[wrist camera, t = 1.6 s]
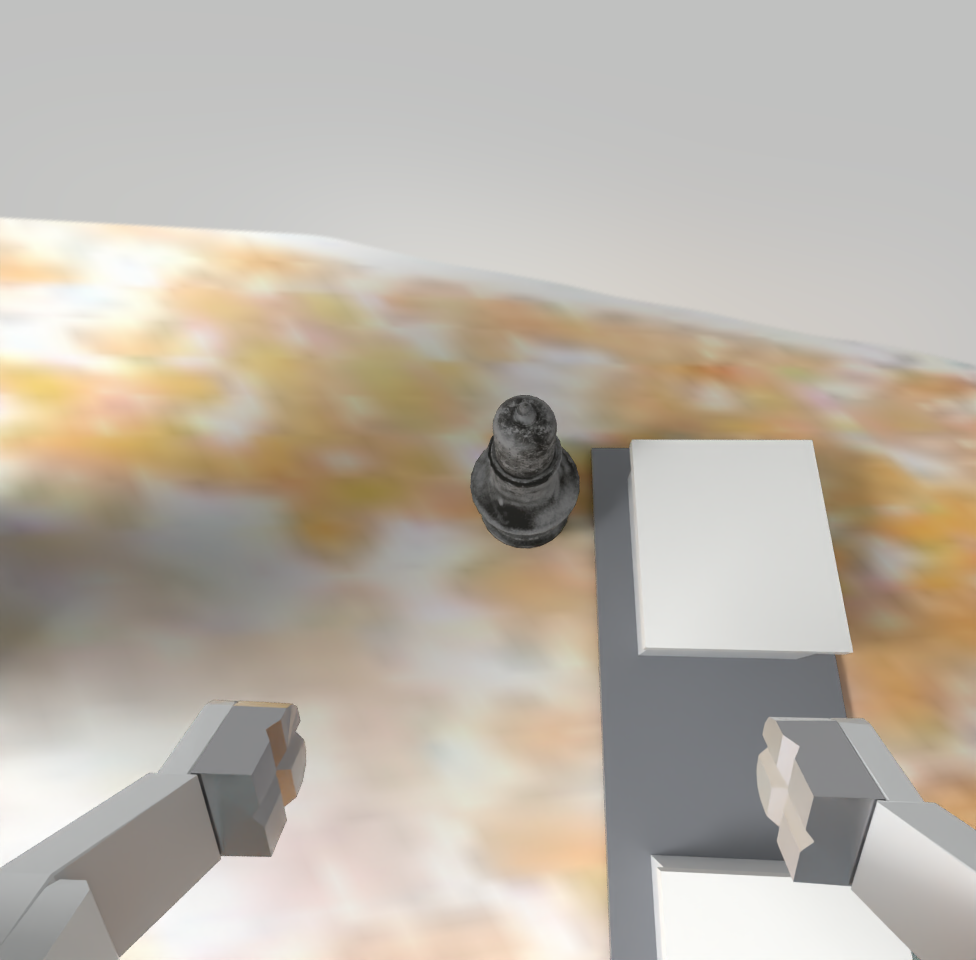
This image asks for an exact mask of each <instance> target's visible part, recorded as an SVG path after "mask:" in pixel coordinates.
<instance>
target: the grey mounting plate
mask: <svg viewBox="0 0 976 960" xmlns="http://www.w3.org/2000/svg"><path fill="white" fill-rule="evenodd" d="M591 464H592V490H593V517H594V543H595V569H596V596H597V622H598V649H599V675H600V701H601V728H602V754H603V781H604V807H605V833H606V860H607V886H608V913H609V939H610V960H913V959H912V954H911V950H910V949H909V948H908V947H907V946H906V945H905V944H904V943H903V942H902V941H901V940H900V939H899V938H898V937H897V936H896V935H895V934H894V933H893V932H892V931H891V930H890V929H889V928H888V927H887V926H886V925H885V924H884V923H883V922H882V921H881V920H880V919H879V918H878V917H877V916H876V915H875V914H874V913H873V911H872V910H871V909H870V908H869V907H868V906H867V905H866V904H865V903H864V902H863V901H862V900H861V899H860V898H859V897H858V896H857V895H856V894H855V893H854V892H853V891H852V890H851V887H852V886H840V885H827V884H814V883H801V882H793V880H792V878H791V875H790V873H789V870H788V868H787V865H786V863H785V861H784V858H783V856H782V853H781V851H780V848H779V846H778V843H777V837H778V833H779V828H780V827H779V826H778V825H777V824H775V823H774V822H773V821H772V820H771V819H770V818H768V817H767V816H766V813H765V810H764V808H763V805H762V803H761V799H760V795H759V791H758V786H757V772H756V770H757V763H758V756H759V754H760V753H761V752H763V751H764V750H765V749H766V748H767V747H768V746H767V744H766V742H765V740H764V737H763V735H762V734H763V729H764V725H765V722H766V721H767V719H768V717H796V718H829V719H830V718H846V712H845V707H844V701H843V696H842V690H841V685H840V679H839V674H838V668H837V663H836V657H835V654H849V653H853V649H852V643H851V638H850V633H849V628H848V623H847V618H846V612H845V607H844V602H843V597H842V592H841V587H840V581H839V576H838V571H837V566H836V561H835V555H834V550H833V545H832V540H831V535H830V530H829V524H828V519H827V514H826V509H825V504H824V499H823V493H822V488H821V483H820V478H819V473H818V467H817V462H816V457H815V452H814V447H813V442H812V440H632V441H631V443H630V446H629V448H592V450H591Z"/></svg>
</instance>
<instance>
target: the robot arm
mask: <svg viewBox="0 0 976 960" xmlns="http://www.w3.org/2000/svg"><path fill="white" fill-rule="evenodd" d="M299 723H300V716H299V712H298V708H297V706H296V705H294V704H290V703H271V702H253V701H223V700H212V701H211V702H209V703H207V704H206V705H205V706H204V707H203V709H202V710H201V711H200V713H199V714H198V716H197V717H196V719H195V720H194V722H193V723H192V724H191V726H190V727H189V729H188V730H187V732H186V733H185V734H184V736H183V737H182V739H181V740H180V742H179V743H178V744H177V746H176V747H175V749H174V750H173V752H172V753H171V754H170V756H169V757H168V759H167V760H166V762H165V763H164V764H163V766H162V767H161V769H160V770H159V772H158V773H148V774H147V775H145V776H143V777H142V778H140V779H139V780H137V781H136V782H134V783H133V784H131V785H129V786H128V787H126V788H125V789H123V790H122V791H120V792H118V793H117V794H115V795H114V796H112V797H111V798H109V799H107V800H106V801H104V802H103V803H101V804H100V805H98V806H96V807H95V808H93V809H92V810H90V811H89V812H87V813H85V814H84V815H82V816H81V817H79V818H78V819H76V820H75V821H73V822H71V823H70V824H68V825H67V826H65V827H64V828H62V829H60V830H59V831H57V832H56V833H54V834H53V835H51V836H49V837H48V838H46V839H45V840H43V841H42V842H40V843H38V844H37V845H35V846H34V847H32V848H31V849H29V850H27V851H26V852H24V853H23V854H21V855H20V856H18V857H17V858H15V859H13V860H12V861H10V862H9V863H7V864H6V865H4V866H2V867H1V868H0V960H120V958H119V957H120V956H122V955H123V954H124V953H125V952H126V951H127V950H128V949H129V948H130V947H131V946H132V945H133V944H134V943H135V942H136V941H137V940H138V939H139V938H140V937H141V936H142V935H143V934H144V933H145V932H146V931H147V930H148V929H149V928H150V927H151V926H152V925H154V924H155V923H156V922H157V921H158V920H159V919H160V918H161V917H162V916H163V915H164V914H165V913H166V912H167V911H168V910H169V909H170V908H171V907H172V906H173V905H174V904H175V903H176V902H177V901H178V900H179V899H180V898H181V897H182V896H183V895H184V894H186V893H187V892H188V891H189V890H190V889H191V888H192V887H193V886H194V885H195V884H196V883H197V882H198V881H199V880H200V879H201V878H202V877H203V876H204V875H205V874H206V873H207V872H208V871H209V870H210V869H211V868H212V867H213V866H214V865H215V864H216V863H218V862H219V861H220V860H221V856H258V857H271V856H272V854H273V851H274V849H275V847H276V844H277V842H278V840H279V837H280V835H281V833H282V830H283V828H284V825H285V823H286V821H287V819H286V814H285V809H284V807H285V806H286V805H287V804H288V803H290V802H291V801H292V800H293V799H294V798H296V797H297V794H298V792H299V789H300V787H301V784H302V782H303V777H304V772H305V766H306V748H305V742H304V739H303V738H302V737H301V736H300V735H299V734H298V733H296V732H295V731H296V729H297V727H298V725H299ZM762 735H763V737H764V740H765V742H766V744H767V746H768V747H767V748H766V749H765V750H764V751H763V752H761V753H760V754H759V756H758V763H757V770H756V772H757V786H758V791H759V795H760V799H761V803H762V805H763V808H764V810H765V813H766V816H767V817H768V818H770V819H771V820H772V821H773V822H774V823H775V824H777V825H778V826H779V827H780V828H779V833H778V837H777V843H778V846H779V848H780V851H781V853H782V856H783V858H784V861H785V863H786V865H787V868H788V870H789V873H790V875H791V878H792V880H793V882H801V883H814V884H827V885H840V886H852V887H851V890H852V891H853V892H854V893H855V894H856V895H857V896H858V897H859V898H860V899H861V900H862V901H863V902H864V903H865V904H866V905H867V906H868V907H869V908H870V909H871V910H872V911H873V913H874V914H875V915H876V916H877V917H878V918H879V919H880V920H881V921H882V922H883V923H884V924H885V925H886V926H887V927H888V928H889V929H890V930H891V931H892V932H893V933H894V934H895V935H896V936H897V937H898V938H899V939H900V940H901V941H902V942H903V943H904V944H905V945H906V946H907V947H908V948H909V949H910V950H911V951H912V952H913V953H914V954H915V955H916V956H917V957H918V958H919V959H920V960H976V830H975V829H973V828H972V827H970V826H969V825H967V824H966V823H964V822H963V821H961V820H960V819H958V818H957V817H955V816H954V815H952V814H951V813H949V812H948V811H946V810H945V809H943V808H942V807H940V806H939V805H937V804H936V803H929V802H924V800H923V799H922V798H921V796H920V795H919V793H918V792H917V790H916V789H915V787H914V786H913V785H912V783H911V782H910V780H909V779H908V777H907V776H906V775H905V773H904V772H903V770H902V769H901V767H900V766H899V764H898V763H897V762H896V760H895V759H894V757H893V756H892V754H891V753H890V752H889V750H888V749H887V747H886V746H885V744H884V743H883V741H882V740H881V739H880V737H879V736H878V734H877V733H876V731H875V730H874V729H873V727H872V726H871V724H870V723H869V722H867V721H866V720H865V719H863V718H830V719H829V718H796V717H768V719H767V721H766V722H765V725H764V729H763V734H762Z"/></svg>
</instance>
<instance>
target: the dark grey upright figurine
mask: <svg viewBox="0 0 976 960" xmlns="http://www.w3.org/2000/svg"><path fill="white" fill-rule="evenodd" d="M556 431H557V423H556V419H555V416H554V413H553V411H552V410H551V408H550V407H549V406H548V405H547V404H546V403H545V402H544V401H542V400H541V399H539V398H537V397H533V396H530V395H520V396H515V397H512V398H510V399H508V400H506V401H505V402H504V403H503V404H502V405H501V406H500V407H499V408H498V410H497V412H496V414H495V417H494V420H493V436H492V438H491V440H490V443H489V446H488V448H487V449H486V450H484V451H483V453H482V454H481V456H480V457H479V458H478V460H477V461H476V463H475V466H474V468H473V471H472V474H471V485H470V488H471V493H472V498H473V502H474V503H475V505H476V507H477V509H478V511H479V513H480V514H481V515H482V519H483V522H484V523H485V525H486V527H487V529H488V530H489V532H490V533H491V534H492V535H493V536H494V537H495V538H496V539H498V540H500V541H501V542H503V543H504V544H506V545H510V546H513V547H516V548H533V547H538V546H541V545H543V544H545V543H547V542H549V541H551V540H552V539H554V538H555V537H556V536H557V535H558V534H559V533H560V532H561V530H562V529H563V527H564V526H565V524H566V522H567V519H568V516H569V514H570V512H571V511H572V509H573V508H574V506H575V505H576V501H577V498H578V494H579V475H578V471H577V468H576V465H575V463H574V461H573V460H572V458H571V457H570V455H569V454H568V453H567V452H566V451H565V450H564V449H563V448H562V447H561V444H560V441H559V439H558V437H557V436H556Z"/></svg>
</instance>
